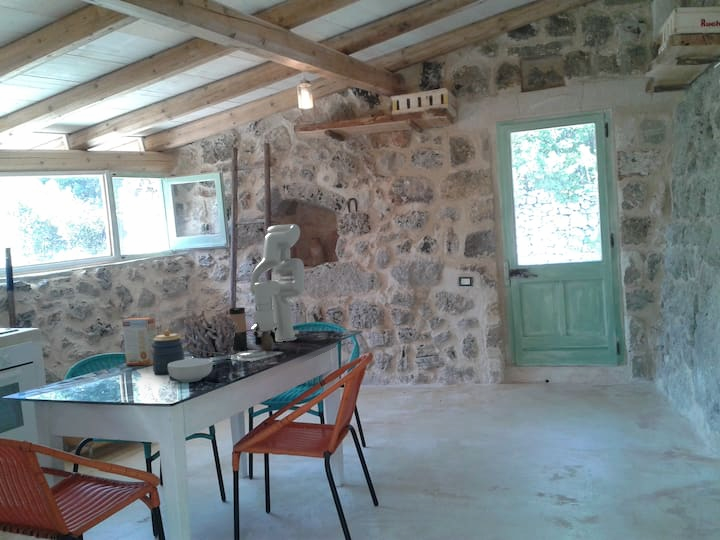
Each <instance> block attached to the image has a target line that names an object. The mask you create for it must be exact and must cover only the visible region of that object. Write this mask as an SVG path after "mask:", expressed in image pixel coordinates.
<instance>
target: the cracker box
mask: <svg viewBox="0 0 720 540" xmlns="http://www.w3.org/2000/svg"><path fill="white" fill-rule="evenodd" d="M155 319H156V318H155V317H129V318H124V319H122V330H123V331H122V332H123V343H124V354H125V365H126V366H146V367H147V366H149V367H150V366H153V355H152V353H153V347H152V346H151V345H152V344H153V343H154V341H153V339H154V338H156V336H157V331H156V322H155V321H156V320H155Z"/></svg>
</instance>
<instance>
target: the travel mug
mask: <svg viewBox="0 0 720 540" xmlns="http://www.w3.org/2000/svg"><path fill="white" fill-rule="evenodd" d="M228 312H229V313H228V314H229V319H230V318H231V319H232V320H233V321H234V322H235V323H237V330H236V332H235V337H234V345H233V349H232V351H243V350H242V349H244V350H247V349H248V336H247V335H248V334H247V321H246V312H245V307H230V308H229V309H228ZM246 348H247V349H246Z"/></svg>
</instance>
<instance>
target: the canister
mask: <svg viewBox="0 0 720 540" xmlns="http://www.w3.org/2000/svg"><path fill="white" fill-rule="evenodd" d="M181 339H182V336H181V335H179V334H177V333H171V331H170V330H169V329H165V330H164V331H163V334H159V335H156V338H154V339H153V341H154V343H153V344H152V345H151V346H152V347H153V353H152V355H153V365H152V367H153V368H152V369H153V370H152V371H153V373H154V375H161V376H162V375H164V376H165V375H166V376H167V375H170V374H169V372H168V364H169V363H171V362H174V361H179V360H185V358H186V357H185V349H184V346H183V345H184V343H185V342H184V341H183V340H181Z"/></svg>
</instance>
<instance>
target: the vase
mask: <svg viewBox="0 0 720 540" xmlns="http://www.w3.org/2000/svg"><path fill="white" fill-rule="evenodd" d="M260 337H261V343H262V344H261V345H258V346H259V348H260V350H265V351H270V350H271V349H273V347H274V342H273V338H272V336H271V335H270V332H269V331H266V332H262V333H261V335H260ZM269 349H270V350H269Z"/></svg>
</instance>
